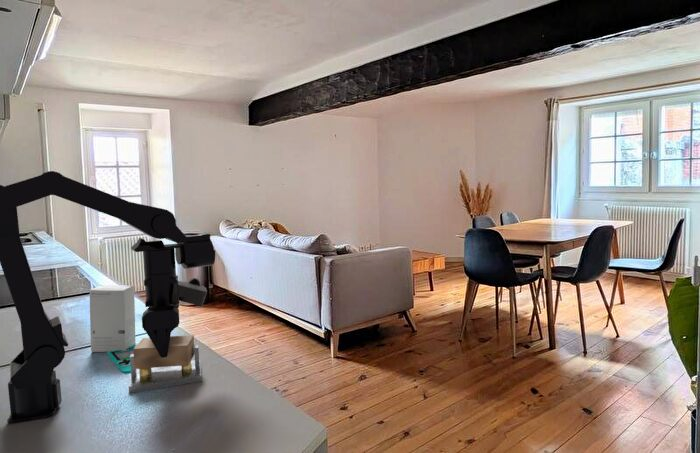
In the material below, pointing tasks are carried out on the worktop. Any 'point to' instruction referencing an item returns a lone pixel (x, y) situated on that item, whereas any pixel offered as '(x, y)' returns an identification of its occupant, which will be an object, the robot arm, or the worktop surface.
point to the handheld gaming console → (121, 360)
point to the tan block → (177, 355)
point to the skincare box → (112, 318)
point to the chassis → (164, 375)
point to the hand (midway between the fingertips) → (164, 348)
